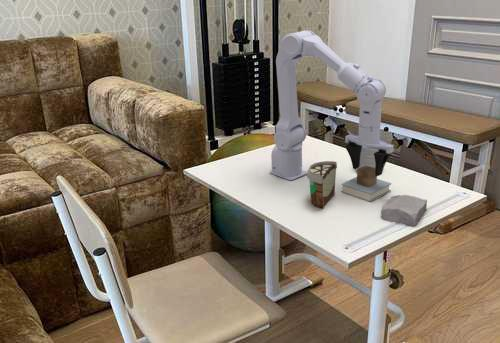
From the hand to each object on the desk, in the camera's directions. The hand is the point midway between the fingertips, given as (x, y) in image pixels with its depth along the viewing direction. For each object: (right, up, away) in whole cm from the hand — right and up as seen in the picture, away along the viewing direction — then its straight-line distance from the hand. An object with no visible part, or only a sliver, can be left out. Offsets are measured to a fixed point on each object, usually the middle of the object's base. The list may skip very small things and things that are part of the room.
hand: (367, 171), depth 141 cm
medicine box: (+4, 0, +17) cm, 18 cm away
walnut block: (0, -4, +1) cm, 4 cm away
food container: (-14, -8, -2) cm, 16 cm away
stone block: (+7, -12, -11) cm, 17 cm away
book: (0, -6, +2) cm, 6 cm away
